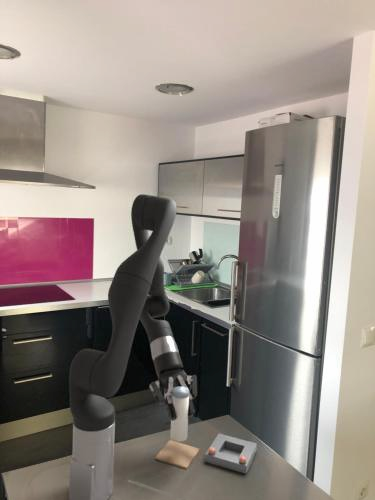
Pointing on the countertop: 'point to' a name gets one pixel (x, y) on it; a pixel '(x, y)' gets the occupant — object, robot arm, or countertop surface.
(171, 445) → the pad
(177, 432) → the ball
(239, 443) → the block
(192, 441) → the countertop surface
